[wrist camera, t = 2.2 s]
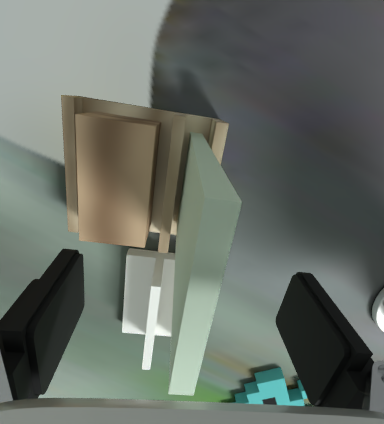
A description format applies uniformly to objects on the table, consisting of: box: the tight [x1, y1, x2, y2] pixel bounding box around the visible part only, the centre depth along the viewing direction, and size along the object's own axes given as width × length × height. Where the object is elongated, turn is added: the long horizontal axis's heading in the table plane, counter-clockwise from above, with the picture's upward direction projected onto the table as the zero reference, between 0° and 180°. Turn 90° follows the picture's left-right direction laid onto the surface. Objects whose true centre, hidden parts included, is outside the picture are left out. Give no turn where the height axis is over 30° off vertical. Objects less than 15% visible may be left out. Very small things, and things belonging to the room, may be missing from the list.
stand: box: [122, 248, 175, 370], centre depth 31 cm, size 9×13×6 cm
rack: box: [61, 95, 229, 253], centre depth 25 cm, size 14×13×6 cm
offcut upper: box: [75, 113, 158, 248], centre depth 22 cm, size 6×11×2 cm, turn 171°
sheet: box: [168, 132, 242, 395], centre depth 18 cm, size 1×10×18 cm, turn 171°
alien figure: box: [232, 367, 307, 406], centre depth 45 cm, size 20×2×20 cm
